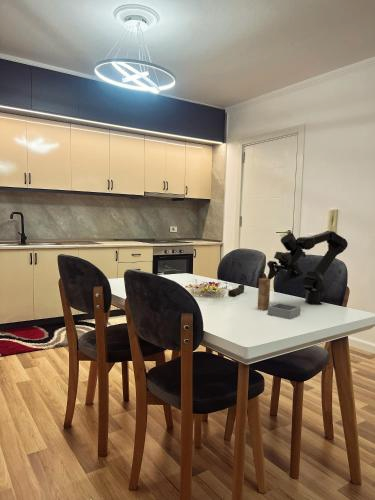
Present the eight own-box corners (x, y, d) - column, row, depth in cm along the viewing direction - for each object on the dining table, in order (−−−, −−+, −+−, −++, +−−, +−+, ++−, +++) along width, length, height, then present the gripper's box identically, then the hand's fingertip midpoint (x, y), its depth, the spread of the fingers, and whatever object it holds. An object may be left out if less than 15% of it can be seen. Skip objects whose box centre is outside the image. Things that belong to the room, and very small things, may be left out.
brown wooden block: (263, 308, 175) (265, 278, 174) (268, 309, 172) (270, 279, 170) (257, 308, 173) (259, 278, 172) (262, 310, 170) (264, 279, 169)
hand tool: (234, 297, 197) (235, 289, 196) (227, 296, 199) (228, 288, 198) (248, 292, 213) (248, 284, 212) (241, 291, 215) (242, 283, 214)
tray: (278, 310, 171) (278, 302, 170) (300, 314, 164) (300, 306, 164) (267, 314, 163) (267, 306, 162) (290, 319, 156) (290, 310, 156)
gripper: (270, 244, 184) (252, 267, 179) (300, 247, 168) (280, 272, 163) (281, 260, 188) (263, 282, 184) (311, 264, 172) (292, 289, 168)
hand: (274, 281), depth 174 cm, fingers open, 9 cm apart
